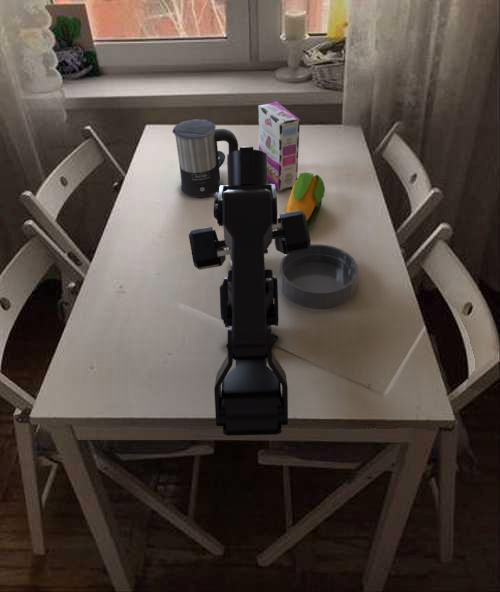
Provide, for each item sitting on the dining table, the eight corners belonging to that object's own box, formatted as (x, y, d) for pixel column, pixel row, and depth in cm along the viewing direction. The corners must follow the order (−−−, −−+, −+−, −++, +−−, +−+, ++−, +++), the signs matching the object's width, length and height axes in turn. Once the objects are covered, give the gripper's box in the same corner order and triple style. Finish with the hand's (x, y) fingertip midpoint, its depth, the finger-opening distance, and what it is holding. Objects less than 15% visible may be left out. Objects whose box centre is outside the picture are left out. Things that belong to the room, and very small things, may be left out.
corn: (328, 163, 123) (312, 213, 108) (328, 194, 128) (313, 246, 113) (294, 162, 125) (274, 211, 110) (296, 192, 129) (277, 243, 115)
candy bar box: (298, 187, 131) (301, 119, 120) (279, 192, 129) (280, 124, 118) (276, 165, 138) (277, 100, 127) (258, 170, 137) (256, 104, 126)
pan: (334, 320, 97) (336, 303, 95) (265, 292, 103) (265, 275, 101) (368, 276, 106) (370, 259, 103) (302, 252, 112) (303, 236, 109)
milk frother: (189, 202, 127) (182, 141, 117) (163, 172, 137) (155, 113, 127) (246, 186, 132) (243, 125, 122) (216, 157, 142) (212, 100, 132)
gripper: (301, 165, 84) (294, 196, 99) (176, 188, 84) (189, 215, 99) (315, 238, 83) (306, 258, 98) (189, 261, 82) (200, 277, 98)
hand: (250, 250), depth 98 cm, fingers open, 9 cm apart
